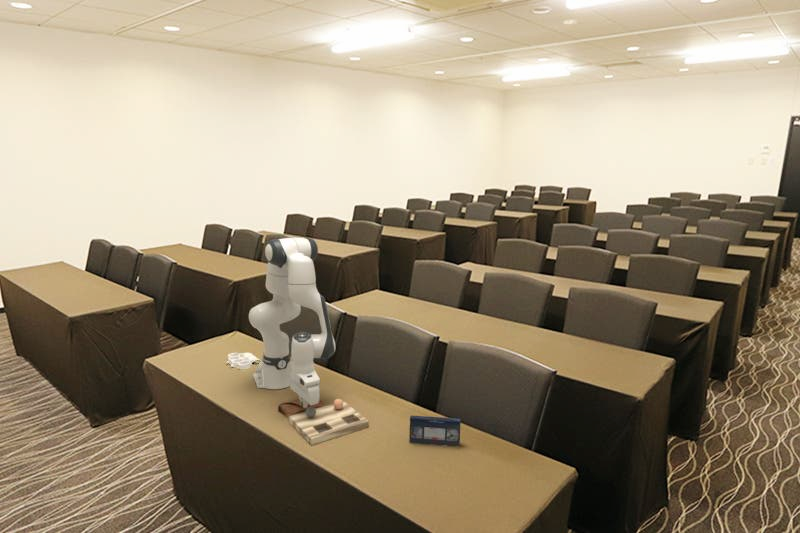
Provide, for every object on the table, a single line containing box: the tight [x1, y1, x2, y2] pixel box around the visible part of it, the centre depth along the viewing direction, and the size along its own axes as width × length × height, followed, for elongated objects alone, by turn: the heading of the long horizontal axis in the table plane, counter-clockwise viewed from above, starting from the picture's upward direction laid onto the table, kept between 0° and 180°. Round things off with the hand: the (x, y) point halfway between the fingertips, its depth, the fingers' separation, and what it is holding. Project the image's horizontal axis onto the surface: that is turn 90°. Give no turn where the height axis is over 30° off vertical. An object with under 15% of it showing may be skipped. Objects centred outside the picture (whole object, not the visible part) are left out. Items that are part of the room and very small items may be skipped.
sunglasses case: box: [277, 398, 325, 419], centre depth 212 cm, size 18×7×7 cm, turn 129°
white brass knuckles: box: [225, 352, 262, 370], centre depth 256 cm, size 3×18×15 cm
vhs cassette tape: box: [408, 415, 462, 447], centre depth 187 cm, size 18×3×10 cm, turn 82°
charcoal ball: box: [306, 407, 316, 417], centre depth 200 cm, size 4×4×4 cm
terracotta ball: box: [332, 398, 344, 409], centre depth 207 cm, size 4×4×4 cm
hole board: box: [288, 400, 370, 446], centre depth 199 cm, size 20×24×2 cm
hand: (304, 406), depth 206 cm, fingers closed
